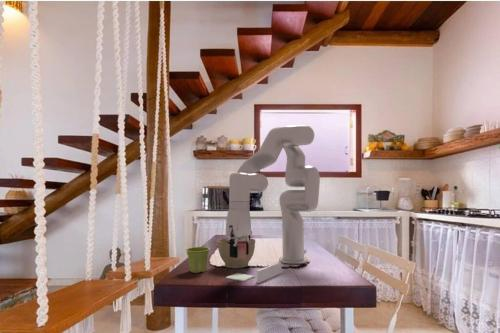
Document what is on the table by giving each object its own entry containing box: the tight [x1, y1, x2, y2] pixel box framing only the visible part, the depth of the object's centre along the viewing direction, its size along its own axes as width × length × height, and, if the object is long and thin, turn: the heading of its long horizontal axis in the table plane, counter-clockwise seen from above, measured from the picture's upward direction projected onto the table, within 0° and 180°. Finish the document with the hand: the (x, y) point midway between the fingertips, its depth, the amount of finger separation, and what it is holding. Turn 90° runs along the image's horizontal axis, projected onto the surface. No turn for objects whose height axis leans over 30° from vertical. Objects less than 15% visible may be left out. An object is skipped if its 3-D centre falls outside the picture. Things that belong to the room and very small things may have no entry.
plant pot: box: [185, 246, 211, 274], centre depth 130 cm, size 9×9×9 cm
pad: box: [225, 272, 256, 282], centre depth 120 cm, size 7×8×1 cm
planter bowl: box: [216, 237, 256, 269], centre depth 138 cm, size 16×16×11 cm
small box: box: [233, 237, 246, 260], centre depth 120 cm, size 5×4×8 cm
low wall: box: [255, 261, 282, 284], centre depth 120 cm, size 16×1×4 cm, turn 146°
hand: (239, 255), depth 120 cm, fingers closed on small box, 6 cm apart
